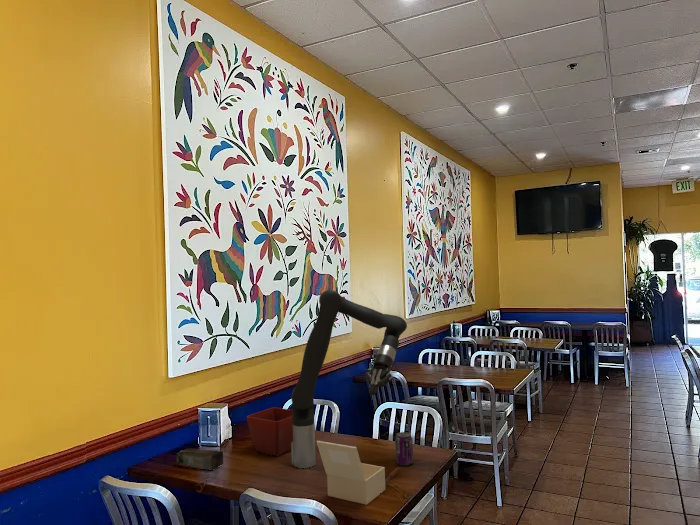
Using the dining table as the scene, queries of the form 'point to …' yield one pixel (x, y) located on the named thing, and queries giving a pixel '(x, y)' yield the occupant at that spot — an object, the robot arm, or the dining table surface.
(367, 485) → the cardboard box
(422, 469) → the dining table surface
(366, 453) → the dining table surface
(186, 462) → the dark brown block
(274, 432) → the plant pot
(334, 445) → the box lid
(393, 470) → the screwdriver
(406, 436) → the beverage can
